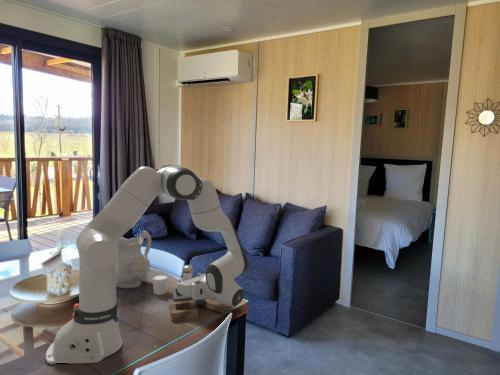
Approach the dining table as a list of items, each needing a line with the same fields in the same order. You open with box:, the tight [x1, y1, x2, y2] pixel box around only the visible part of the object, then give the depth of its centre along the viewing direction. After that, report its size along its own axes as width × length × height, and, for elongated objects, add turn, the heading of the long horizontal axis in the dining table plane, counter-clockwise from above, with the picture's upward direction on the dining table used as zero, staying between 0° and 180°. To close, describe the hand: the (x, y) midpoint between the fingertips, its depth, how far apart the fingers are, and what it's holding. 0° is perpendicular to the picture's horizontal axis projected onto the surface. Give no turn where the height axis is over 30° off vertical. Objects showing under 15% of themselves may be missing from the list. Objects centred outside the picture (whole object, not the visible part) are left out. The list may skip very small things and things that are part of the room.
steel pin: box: [182, 264, 194, 297], centre depth 159 cm, size 4×4×14 cm
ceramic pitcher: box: [116, 229, 152, 290], centre depth 176 cm, size 22×20×25 cm
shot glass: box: [151, 274, 169, 296], centre depth 167 cm, size 7×7×7 cm
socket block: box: [169, 300, 199, 322], centre depth 146 cm, size 10×10×3 cm
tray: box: [171, 287, 205, 306], centre depth 159 cm, size 12×12×4 cm
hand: (188, 278), depth 158 cm, fingers open, 8 cm apart
